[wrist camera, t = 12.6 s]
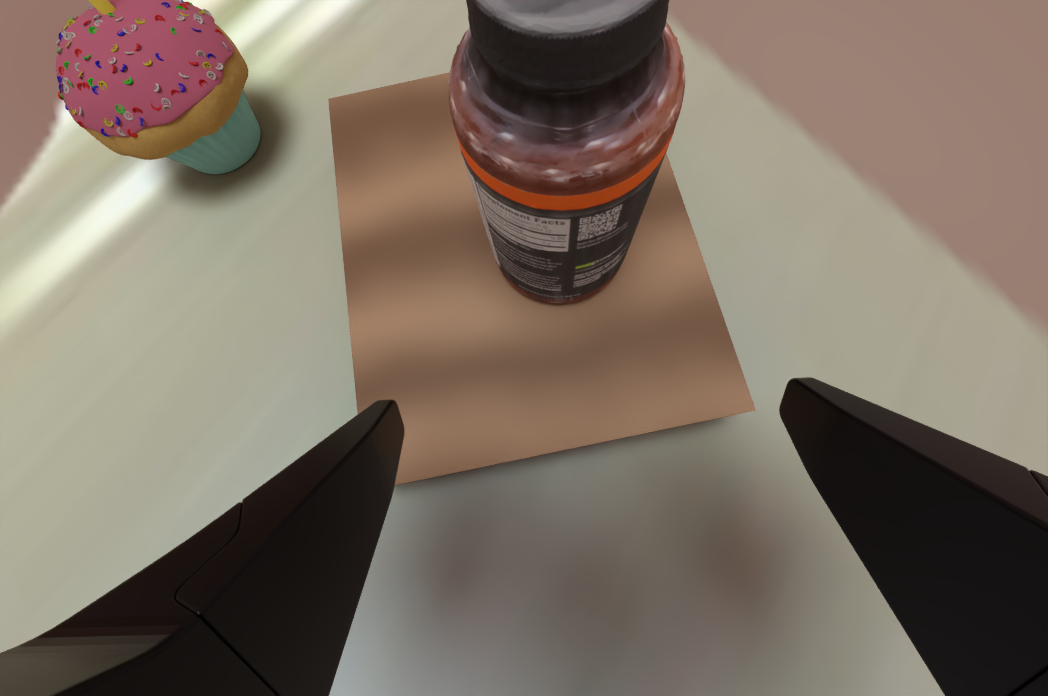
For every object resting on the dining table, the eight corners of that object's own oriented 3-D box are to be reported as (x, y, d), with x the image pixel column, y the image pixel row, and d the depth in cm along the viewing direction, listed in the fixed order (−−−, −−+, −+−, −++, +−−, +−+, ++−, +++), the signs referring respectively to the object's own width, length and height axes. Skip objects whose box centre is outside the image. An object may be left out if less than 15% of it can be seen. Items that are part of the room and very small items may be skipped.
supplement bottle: (549, 168, 19) (550, -212, 8) (651, 237, 18) (816, -97, 7) (466, 256, 18) (339, -34, 7) (567, 335, 17) (602, 134, 6)
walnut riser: (723, 415, 19) (755, 410, 16) (393, 484, 19) (364, 491, 16) (615, 84, 24) (624, 34, 21) (355, 141, 24) (328, 98, 21)
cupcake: (159, 104, 25) (-168, -184, 14) (287, 72, 25) (67, -242, 14) (160, 218, 23) (-227, -8, 12) (299, 184, 23) (51, -77, 12)
